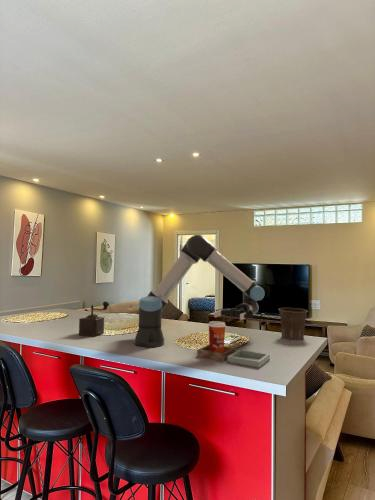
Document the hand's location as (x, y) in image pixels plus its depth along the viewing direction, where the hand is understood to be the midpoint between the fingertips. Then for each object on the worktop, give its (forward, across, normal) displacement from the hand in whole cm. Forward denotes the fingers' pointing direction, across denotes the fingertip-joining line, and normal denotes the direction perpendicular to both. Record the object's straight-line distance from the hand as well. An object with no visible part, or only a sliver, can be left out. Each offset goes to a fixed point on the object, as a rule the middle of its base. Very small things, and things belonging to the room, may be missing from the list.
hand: (227, 315), depth 166 cm
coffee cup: (+11, 0, -17) cm, 20 cm away
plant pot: (-49, -20, -18) cm, 56 cm away
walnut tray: (+11, 0, -16) cm, 20 cm away
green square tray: (+11, -15, -17) cm, 25 cm away
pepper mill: (+10, +78, -16) cm, 81 cm away
